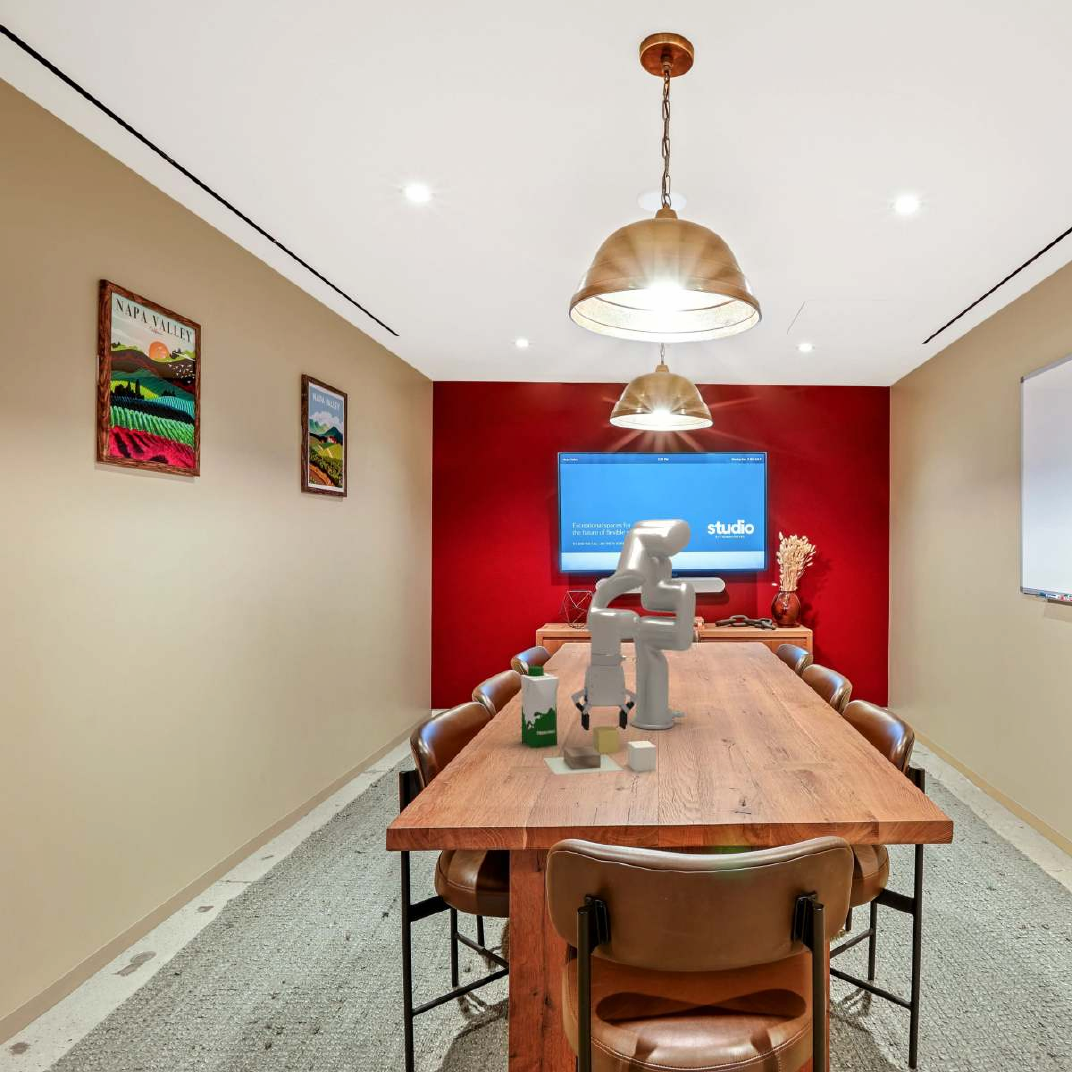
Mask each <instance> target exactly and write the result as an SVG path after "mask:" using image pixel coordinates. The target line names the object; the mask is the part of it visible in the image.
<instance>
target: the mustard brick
mask: <svg viewBox="0 0 1072 1072" xmlns="http://www.w3.org/2000/svg"><path fill="white" fill-rule="evenodd" d="M592 729H593V730H592V732H593V735H592V741H593V743H592V745H593V746H592V747H593V748H594V749H595V750H596V751H597V752H598V753H599V754H600V755H605V754H617V753H619V730H618V729H616V728H615V727H614V726H613V725H607V726H604V725H603V726H593V727H592Z"/></svg>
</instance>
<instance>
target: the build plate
mask: <svg viewBox="0 0 1072 1072" xmlns="http://www.w3.org/2000/svg"><path fill="white" fill-rule="evenodd" d="M600 755H601V768H589V769H574V770H571V768H570V767H569V766H568V765H567V764H566V762H565V761H564V756H561V757H558V756H557V757H544V758H543V761H544V762H545V763H546V764H547V765H548V768H549V769H550V770H551V771H552V772H553V773H554V775H555V776H557V775H559V776H560V775H570V774H572V775H573V774H586V773H601V772H602V773H603V772H614V771H615V772H617V771H623V769H622V768H621V767H620V765H618V764H617V763H616V762H615V761H614V760H613V759H612V758H610V756H608V755H607V753H604V754H600Z"/></svg>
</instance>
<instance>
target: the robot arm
mask: <svg viewBox="0 0 1072 1072" xmlns="http://www.w3.org/2000/svg"><path fill="white" fill-rule="evenodd" d="M691 532H692V531H691V527H690V525H689V523H688V521H685V520H684V519H679V518H678V519H675V518H673V519H645V520H638V521H637V522H634V524H633V525H632V528H631V529H630V530H629V531H627V533H626V535H625V538H624V541H623V545H622V548H621V551H620V555H619V559H618V563H617V566H616V570H615V572H614V573H613V574H612V575H611V576H609V577H608V578H606V580H605V581H604V582H603V583H602V584H601V585H600V586H599V587H597V590H596V591H595V592H594V593H593V596H592V597H591V598H592V599H591V602H590V604H589V608H588V611H587V615H586V627H587V631H588V632H589V633H590V664H587V665H586V670H585V675H584V683H583V688H582V689H580V690H579V691H577V692H575V693H573V694H571V700H572V702H573V704H574V707H576V708H577V710H578V711H579V712H580V714H581V718H580V719H581V721H580V726H582V729H583V730H585V731H589V730H590V714H589V712H590V710H591V709H592V708H593V707H597V708H598V707H619V708H620V711H619V713H618V714H619V716H618V719H619V720H618V727H620V728H621V729H622V730H626V729H627V725H628V717H629V716H628V715H629V713H630V711H631V710H632V709H633V707H634V706H635V716H633V717H631V718H630V719H629V720H630V725H631V726H633V727H636V728H640V729H645V730H666V729H670V728H673V727H674V726H675V721H674V719H675V718H678V719H679V718H684V717H685V711H684V710H677V709H671V708H670V706H669V705H670V704H669V703H670V702H669V701H670V700H669V696H670V695H669V694H670V693H669V689H670V688H669V687H670V686H669V683H670V682H669V681H670V680H669V677H670V676H669V675H670V674H669V671H670V669H669V668H670V667H669V662H668V660H667V657H666V656H665V654H664V652H663V651H672V652H673V651H674V652H685V651H686V652H687V651H689V649H690V648H691V647H692V644H693V642H694V633H695V631H694V630H695V617H696V615H695V614H696V605H697V604H696V600H697V598H696V597H697V596H696V591H695V588H694V585H692V583H690V582H689V581H685V580H672V572H673V571H672V570H673V564H672V561H671V559H670V558H672V557H674V556H676V555H678V554H679V553H680V552H681V551H683V550H684V549H685V548H686V547H687V546H688V544H689V543H690V540H691V536H692V535H691V534H692V533H691ZM640 587H641V588H640ZM637 588H640V589H641V592H640V603H641V606H642V608H643V609H644V610H645V611H649V612H655V613H668V614H670V613H671V614H675V615H676V617H670V616H669V617H668V616H660V615H659V616H657V615H656V616H655V615H643V616H641V617H640V615H639V614H638V613H637V612H636V611H633V610H631V609H619V608H607V607H608V605H609V604H610V603H611V602H612V601H613V600H614V599H616V598H617V597H618V596H620V595H622V594H625V593H628V592H630V591H633V590H635V589H637ZM622 639H627V640H629V639H633V643H634V644H633V645H634V650H635V692H634V691H631V690H630V689H628V688H626V680H625V679H626V677H625V671H624V666H623V665H622V662H626V661H627V660H626V659H627V657H626V655H623V654H622V653H621V650H622V648H621V647H622V646H621V645H622V641H621V640H622ZM627 696H629V700H628V702H626V699H627V698H626V697H627ZM581 698H583V702H584V703H583V704H582V703H580V699H581Z"/></svg>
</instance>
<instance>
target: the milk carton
mask: <svg viewBox="0 0 1072 1072" xmlns="http://www.w3.org/2000/svg"><path fill="white" fill-rule="evenodd" d="M527 670H528V671H527V673H528V674H521V675H520V684H521V686H520V687H521V744H524V745H527V746H528V747H531V748H532V749H539V748H545V747H552V746H554V747H555V746H558V726H557V724H558V715H557V714H558V688H559V683H560V677H557V676H555V675H553V674H550V673H545V671H544V666H541V665H540V666H539V665H532V666H528V668H527Z"/></svg>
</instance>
